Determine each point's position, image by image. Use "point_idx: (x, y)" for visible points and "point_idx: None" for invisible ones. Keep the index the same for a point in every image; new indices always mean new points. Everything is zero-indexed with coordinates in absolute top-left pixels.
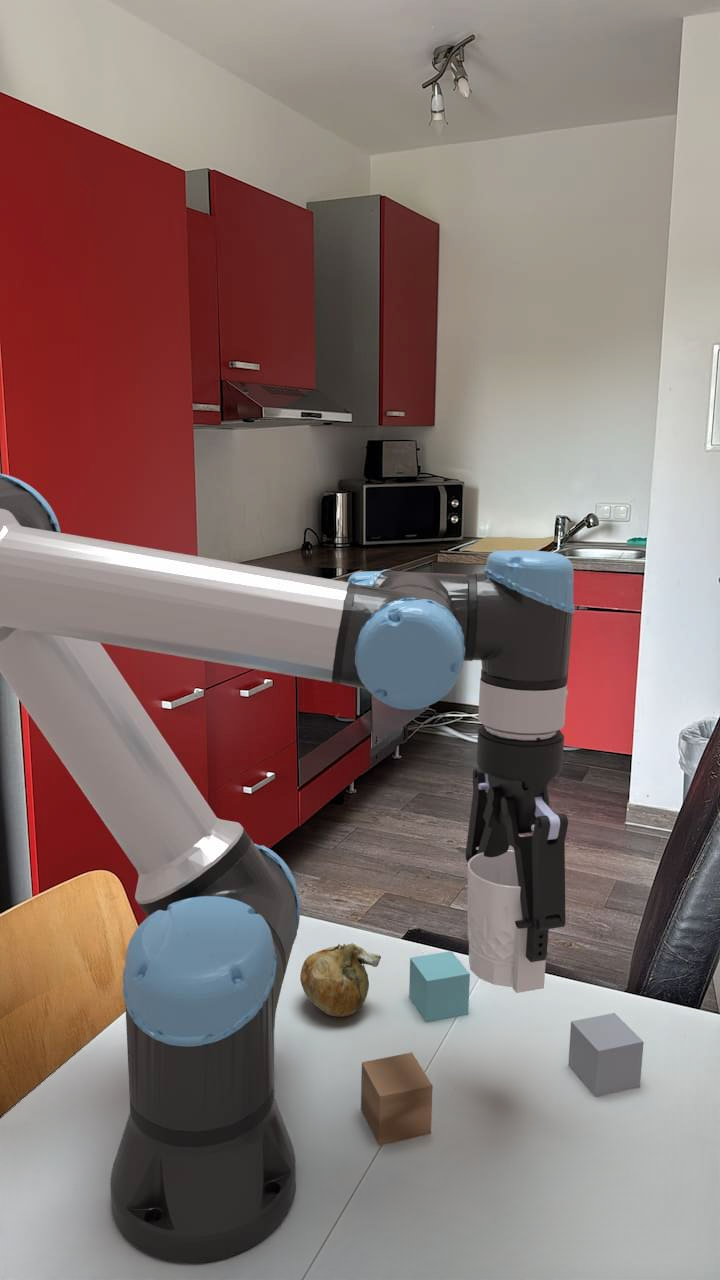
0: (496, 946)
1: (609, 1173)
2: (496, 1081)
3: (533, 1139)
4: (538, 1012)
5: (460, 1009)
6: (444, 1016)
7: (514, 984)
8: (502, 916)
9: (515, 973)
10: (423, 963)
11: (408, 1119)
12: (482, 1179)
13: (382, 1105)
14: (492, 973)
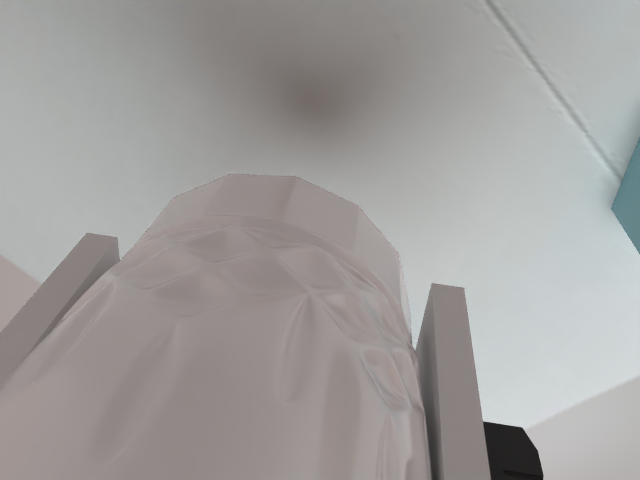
0: (88, 295)
1: (86, 171)
2: (376, 134)
3: (196, 102)
4: (524, 329)
5: (624, 198)
6: (636, 154)
7: (95, 248)
8: None
9: (69, 274)
10: None
11: None
12: None
13: None
14: (159, 215)
